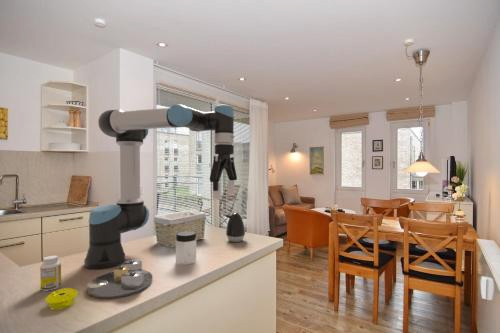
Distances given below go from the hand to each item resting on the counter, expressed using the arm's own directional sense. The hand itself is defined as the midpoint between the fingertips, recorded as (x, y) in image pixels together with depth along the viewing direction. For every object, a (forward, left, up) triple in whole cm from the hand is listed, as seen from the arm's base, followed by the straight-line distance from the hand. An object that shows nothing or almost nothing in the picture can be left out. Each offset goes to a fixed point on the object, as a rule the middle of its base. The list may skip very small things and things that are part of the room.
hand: (224, 197), depth 109 cm
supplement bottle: (-46, -37, -28) cm, 65 cm away
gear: (-32, -43, -28) cm, 61 cm away
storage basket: (-39, +26, -28) cm, 55 cm away
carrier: (-26, -27, -28) cm, 47 cm away
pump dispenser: (-11, +36, -28) cm, 47 cm away
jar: (-18, 0, -28) cm, 33 cm away
